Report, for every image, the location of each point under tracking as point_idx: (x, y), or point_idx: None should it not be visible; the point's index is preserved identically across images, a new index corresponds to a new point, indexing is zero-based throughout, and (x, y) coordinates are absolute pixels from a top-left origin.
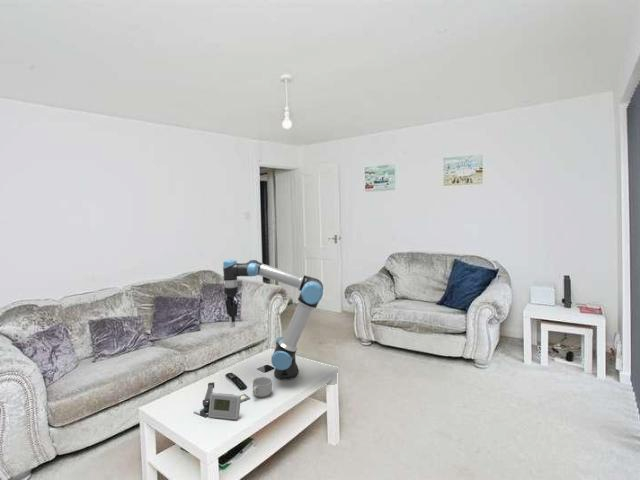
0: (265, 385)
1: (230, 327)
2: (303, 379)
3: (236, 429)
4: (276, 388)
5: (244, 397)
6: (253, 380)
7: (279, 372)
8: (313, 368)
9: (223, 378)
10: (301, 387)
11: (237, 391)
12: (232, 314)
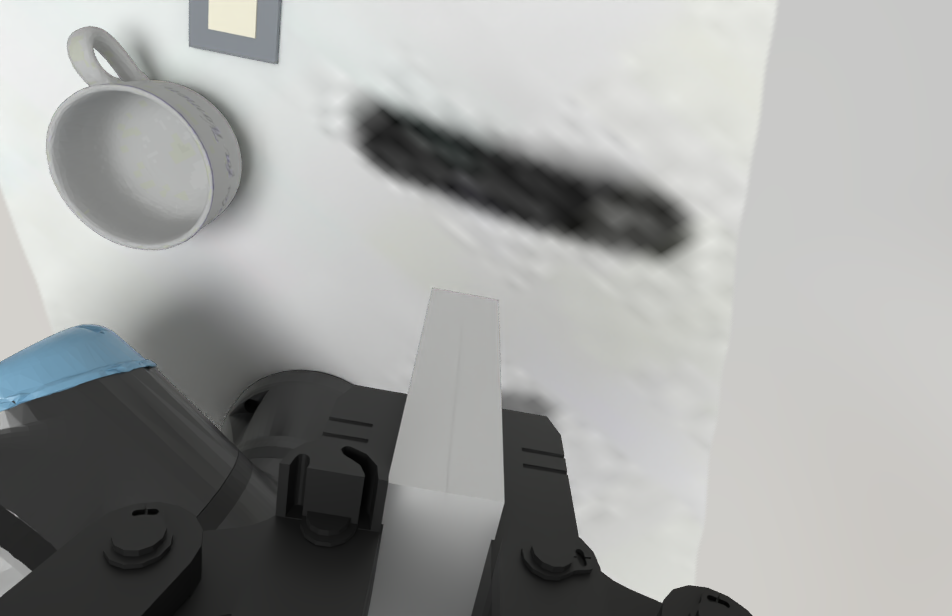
0: (47, 132)
1: (458, 294)
2: None
3: None
4: (193, 269)
5: (219, 16)
6: (186, 128)
7: (278, 399)
8: None
9: (647, 153)
10: None
11: (370, 68)
12: (136, 576)
